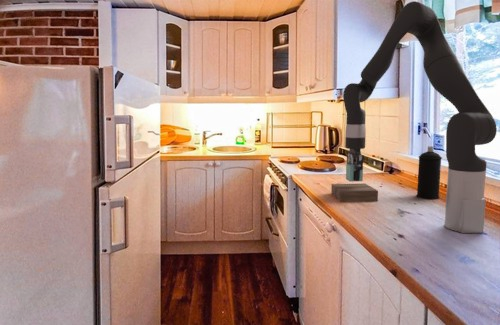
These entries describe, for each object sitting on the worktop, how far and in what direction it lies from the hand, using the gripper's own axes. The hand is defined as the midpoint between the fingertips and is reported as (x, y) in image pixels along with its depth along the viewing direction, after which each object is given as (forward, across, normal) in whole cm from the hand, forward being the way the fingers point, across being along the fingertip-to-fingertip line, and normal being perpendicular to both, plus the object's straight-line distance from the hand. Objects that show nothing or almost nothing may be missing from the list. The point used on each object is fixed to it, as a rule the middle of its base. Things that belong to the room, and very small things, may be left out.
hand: (354, 179), depth 143 cm
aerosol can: (+8, -2, -29) cm, 30 cm away
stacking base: (+7, 0, 0) cm, 7 cm away
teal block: (0, 0, 0) cm, 0 cm away
